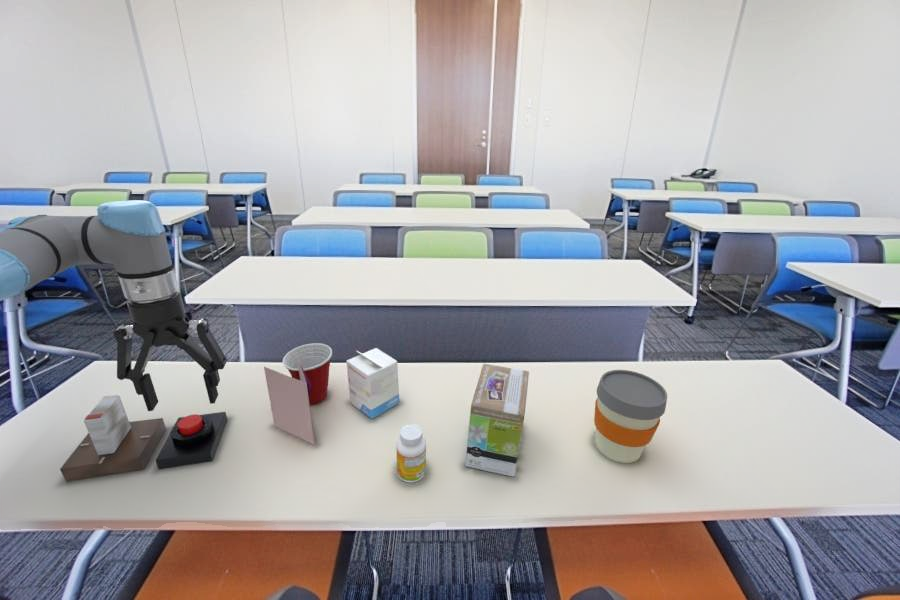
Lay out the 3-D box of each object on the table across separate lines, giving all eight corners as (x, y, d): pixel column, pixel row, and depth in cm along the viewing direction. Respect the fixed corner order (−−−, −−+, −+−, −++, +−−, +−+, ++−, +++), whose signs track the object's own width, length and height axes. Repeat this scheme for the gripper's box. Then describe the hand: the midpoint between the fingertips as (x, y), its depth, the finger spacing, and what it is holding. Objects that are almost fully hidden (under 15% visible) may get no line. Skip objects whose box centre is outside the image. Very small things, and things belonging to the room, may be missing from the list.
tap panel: (65, 482, 70) (58, 468, 69) (98, 437, 80) (93, 425, 79) (143, 470, 73) (138, 457, 72) (166, 428, 83) (162, 416, 82)
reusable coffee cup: (592, 418, 91) (604, 362, 85) (652, 438, 85) (669, 380, 79) (580, 454, 80) (593, 393, 75) (648, 479, 75) (668, 416, 69)
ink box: (400, 403, 93) (399, 354, 88) (370, 420, 88) (368, 368, 82) (377, 387, 99) (375, 340, 93) (348, 402, 93) (344, 353, 88)
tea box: (516, 478, 74) (525, 415, 68) (464, 467, 76) (468, 405, 70) (522, 425, 88) (529, 368, 82) (477, 417, 90) (481, 361, 84)
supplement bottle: (397, 461, 77) (396, 421, 73) (425, 460, 78) (425, 420, 74) (396, 484, 72) (395, 443, 68) (426, 482, 73) (426, 441, 69)
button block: (158, 469, 73) (152, 452, 72) (180, 425, 84) (176, 410, 82) (212, 461, 76) (208, 444, 74) (227, 419, 86) (224, 404, 85)
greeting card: (319, 443, 81) (311, 382, 75) (280, 455, 77) (268, 392, 71) (308, 410, 90) (301, 353, 84) (273, 420, 87) (262, 361, 81)
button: (176, 436, 76) (174, 429, 75) (183, 422, 80) (181, 415, 79) (199, 433, 77) (198, 426, 76) (205, 420, 81) (204, 413, 80)
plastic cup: (285, 390, 96) (279, 348, 91) (331, 380, 101) (327, 338, 96) (292, 418, 87) (284, 372, 83) (341, 404, 92) (337, 360, 87)
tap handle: (116, 429, 78) (103, 395, 75) (131, 427, 79) (119, 393, 76) (97, 455, 72) (82, 419, 69) (114, 453, 73) (99, 417, 69)
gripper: (60, 309, 61) (105, 424, 70) (220, 299, 66) (243, 407, 75) (87, 291, 68) (125, 398, 77) (231, 283, 73) (251, 384, 82)
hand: (184, 402), depth 76 cm, fingers open, 10 cm apart
